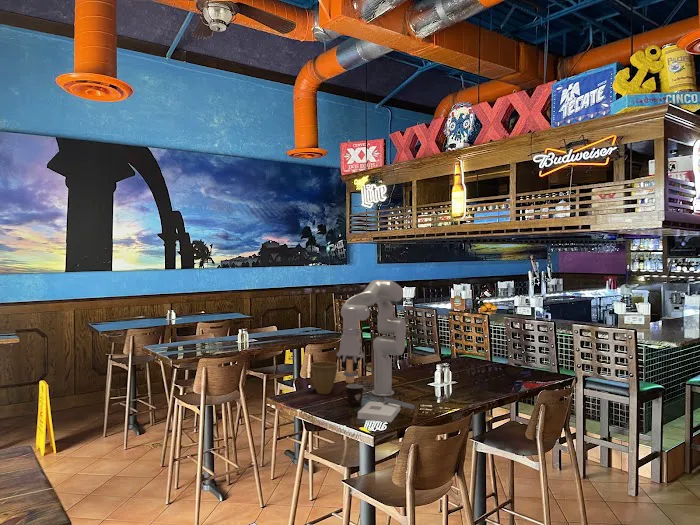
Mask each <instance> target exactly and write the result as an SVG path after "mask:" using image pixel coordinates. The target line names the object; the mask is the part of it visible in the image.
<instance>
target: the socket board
mask: <svg viewBox="0 0 700 525" xmlns="http://www.w3.org/2000/svg"><path fill="white" fill-rule="evenodd" d="M400 411H401V406H400V405H396V404H393V403H389V402H388V404H383V401H382V402H380V401H372V400H371V401H368V402H367V403H366V404H364V406H362V408H361V409H360V410H358V411H357V419H358V420H365V421H374V420H375V421H376V422H382V423H383V422H384V423H392V422H393V420H395V418H396V417H397V416H398V414H399V413H401V412H400ZM375 421H374V422H375Z"/></svg>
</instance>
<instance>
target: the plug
mask: <svg viewBox="0 0 700 525" xmlns="http://www.w3.org/2000/svg"><path fill="white" fill-rule="evenodd" d="M353 363H354V357H353V356H347V359H346V370H345V371H343V377H345V383H347V384H348V383H349V384H354V382H355V377H357V375H358V372H356V371H353Z"/></svg>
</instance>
